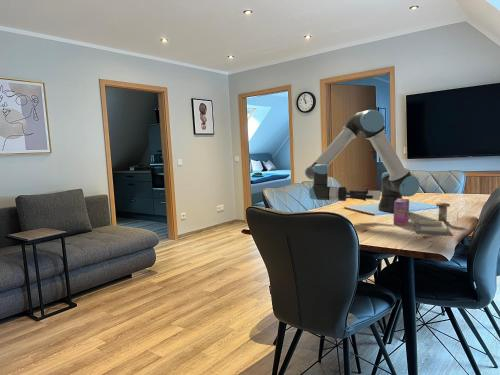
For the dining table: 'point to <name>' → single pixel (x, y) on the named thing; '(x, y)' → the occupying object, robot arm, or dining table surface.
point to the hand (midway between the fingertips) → (380, 195)
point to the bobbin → (443, 212)
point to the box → (401, 211)
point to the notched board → (432, 227)
